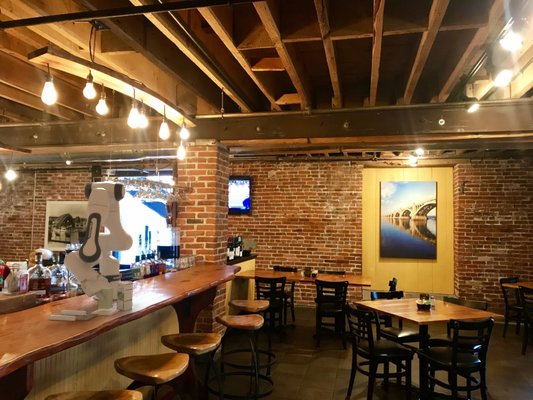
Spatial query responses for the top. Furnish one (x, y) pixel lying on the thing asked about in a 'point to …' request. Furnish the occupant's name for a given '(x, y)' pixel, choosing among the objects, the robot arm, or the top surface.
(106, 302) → the sage block
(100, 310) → the coaster board
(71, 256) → the robot arm
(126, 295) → the syrup box
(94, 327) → the top surface
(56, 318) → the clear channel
